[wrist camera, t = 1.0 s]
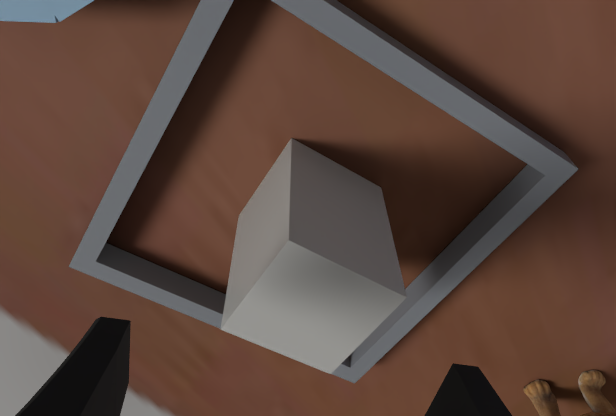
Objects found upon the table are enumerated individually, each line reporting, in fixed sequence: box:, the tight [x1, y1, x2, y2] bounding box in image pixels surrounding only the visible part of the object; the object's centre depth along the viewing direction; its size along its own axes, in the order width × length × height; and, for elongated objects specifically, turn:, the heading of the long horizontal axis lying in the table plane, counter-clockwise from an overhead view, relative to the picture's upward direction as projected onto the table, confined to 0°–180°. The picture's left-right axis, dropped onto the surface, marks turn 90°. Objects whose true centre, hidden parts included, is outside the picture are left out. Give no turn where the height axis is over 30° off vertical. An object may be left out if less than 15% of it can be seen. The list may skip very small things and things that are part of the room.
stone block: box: [221, 138, 407, 374], centre depth 18 cm, size 4×4×6 cm
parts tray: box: [69, 0, 578, 383], centre depth 20 cm, size 14×14×1 cm
